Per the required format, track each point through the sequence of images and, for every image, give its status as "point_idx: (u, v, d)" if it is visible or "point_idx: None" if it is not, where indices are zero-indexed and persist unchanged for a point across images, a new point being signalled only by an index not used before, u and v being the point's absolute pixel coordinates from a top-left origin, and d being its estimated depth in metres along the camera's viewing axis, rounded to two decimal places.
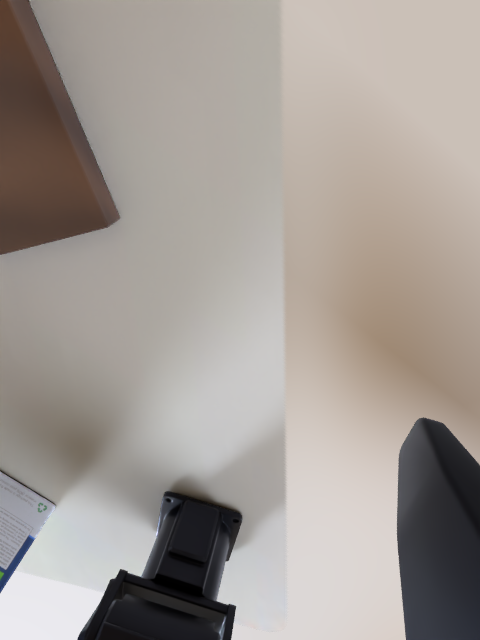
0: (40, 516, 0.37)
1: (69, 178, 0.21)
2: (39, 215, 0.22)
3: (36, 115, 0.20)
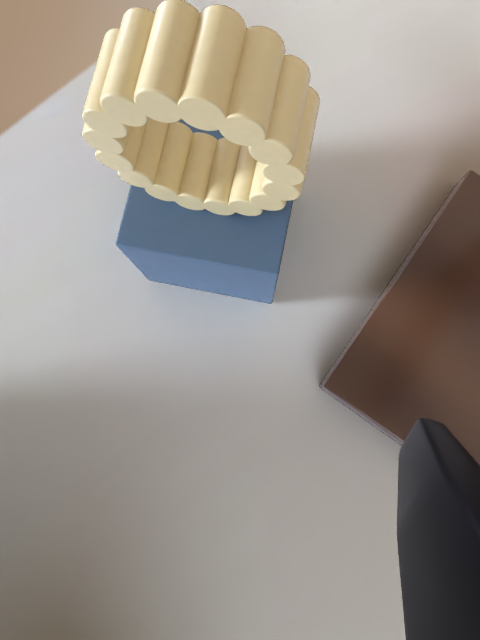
0: None
1: None
2: None
3: None
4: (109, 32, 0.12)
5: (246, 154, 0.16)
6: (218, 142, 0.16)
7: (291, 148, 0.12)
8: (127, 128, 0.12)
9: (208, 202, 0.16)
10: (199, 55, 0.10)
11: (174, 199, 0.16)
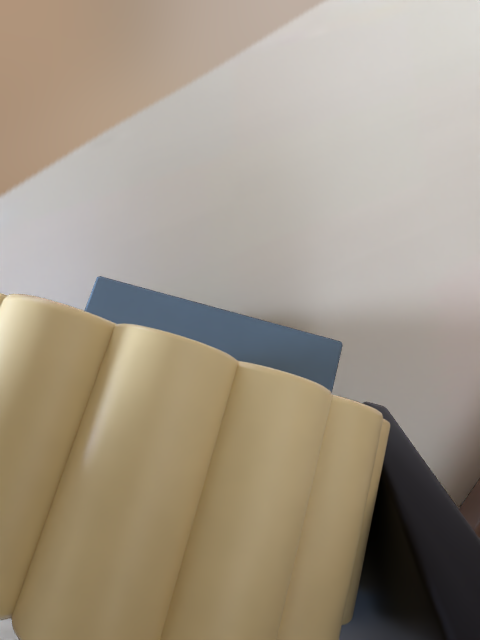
0: None
1: None
2: None
3: None
4: None
5: None
6: None
7: None
8: None
9: None
10: (86, 488, 0.04)
11: None
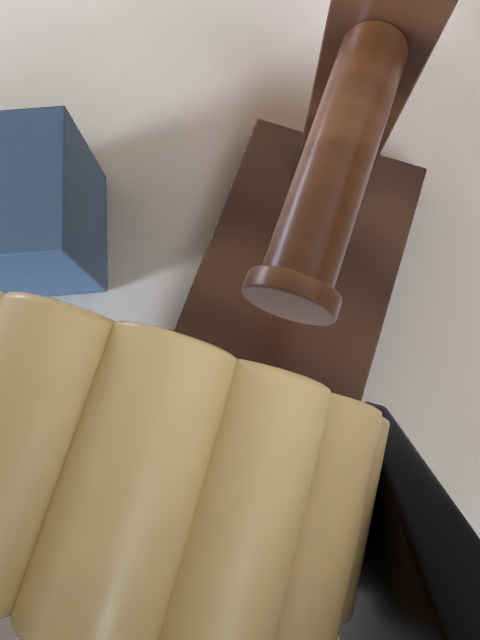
0: None
1: (353, 354, 0.20)
2: (289, 362, 0.19)
3: (366, 294, 0.20)
4: None
5: None
6: None
7: None
8: None
9: None
10: (85, 485, 0.04)
11: None
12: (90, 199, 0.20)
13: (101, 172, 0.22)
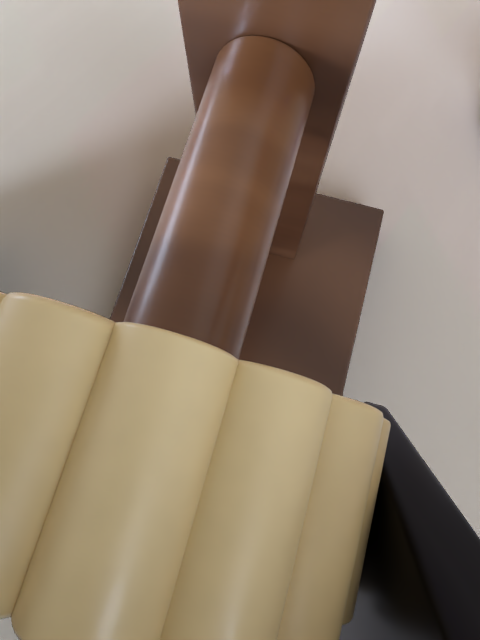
0: None
1: None
2: None
3: None
4: None
5: None
6: None
7: None
8: None
9: None
10: (86, 487, 0.03)
11: None
12: None
13: None
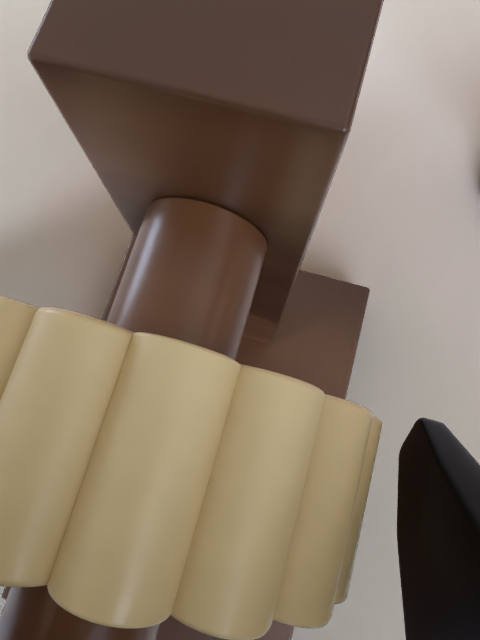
0: None
1: None
2: None
3: None
4: None
5: None
6: None
7: (325, 623, 0.05)
8: None
9: None
10: (110, 474, 0.04)
11: None
12: None
13: None
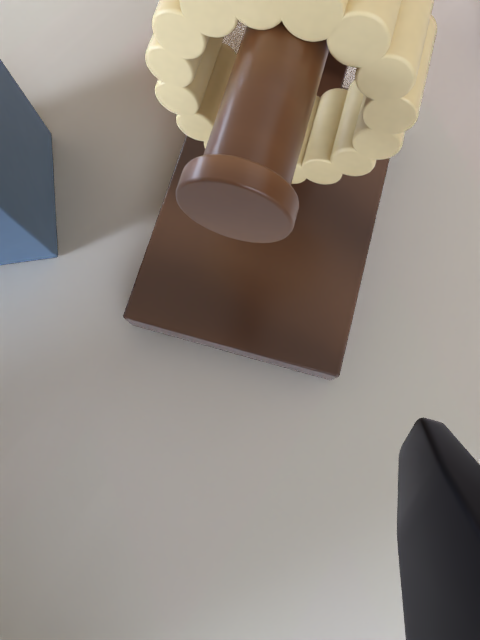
0: None
1: (332, 306, 0.17)
2: (261, 318, 0.17)
3: (343, 239, 0.18)
4: None
5: (327, 109, 0.13)
6: None
7: (415, 70, 0.09)
8: (205, 42, 0.10)
9: None
10: None
11: None
12: (28, 150, 0.18)
13: (44, 127, 0.20)
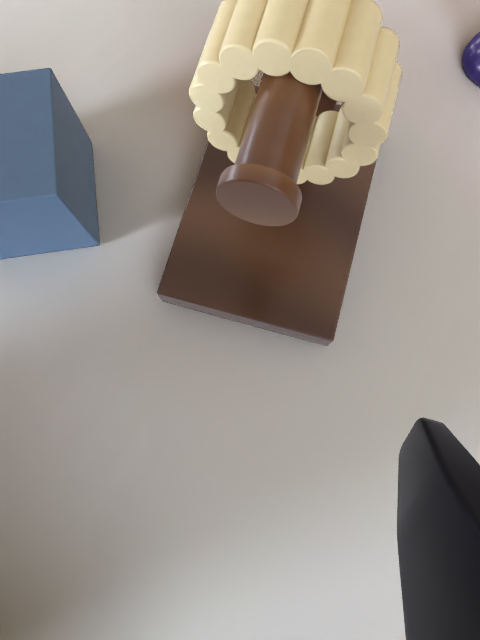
0: None
1: (327, 284, 0.21)
2: (270, 294, 0.21)
3: (337, 229, 0.22)
4: (226, 0, 0.14)
5: (323, 126, 0.17)
6: None
7: (382, 105, 0.13)
8: (234, 83, 0.14)
9: None
10: (314, 15, 0.12)
11: None
12: (78, 157, 0.22)
13: (87, 137, 0.24)
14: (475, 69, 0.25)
